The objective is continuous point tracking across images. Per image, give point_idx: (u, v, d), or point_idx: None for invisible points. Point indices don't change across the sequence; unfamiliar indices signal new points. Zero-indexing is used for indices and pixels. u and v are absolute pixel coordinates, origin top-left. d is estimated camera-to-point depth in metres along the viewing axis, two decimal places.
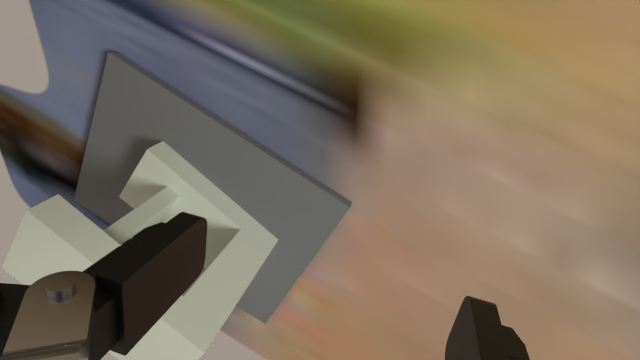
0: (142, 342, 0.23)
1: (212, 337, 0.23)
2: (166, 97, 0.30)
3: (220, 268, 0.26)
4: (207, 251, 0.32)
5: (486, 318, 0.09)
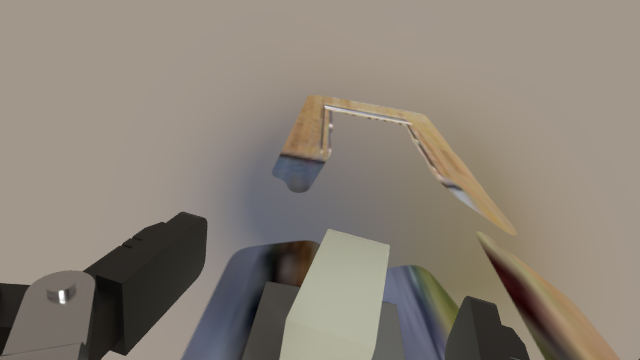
0: (340, 302, 0.27)
1: (371, 357, 0.25)
2: (396, 339, 0.41)
3: None
4: None
5: (486, 318, 0.09)
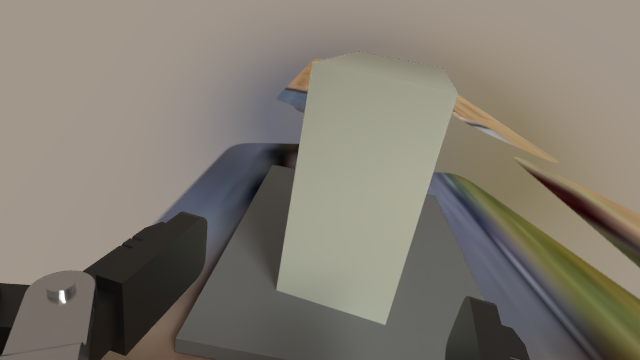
0: (390, 71, 0.18)
1: (449, 119, 0.15)
2: (441, 222, 0.32)
3: None
4: None
5: (486, 318, 0.09)
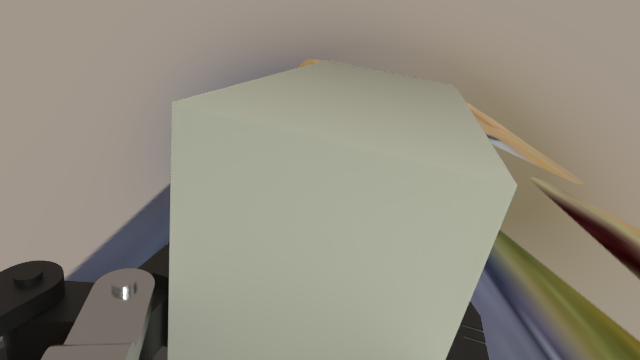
0: (362, 109, 0.09)
1: (492, 241, 0.06)
2: None
3: None
4: None
5: None
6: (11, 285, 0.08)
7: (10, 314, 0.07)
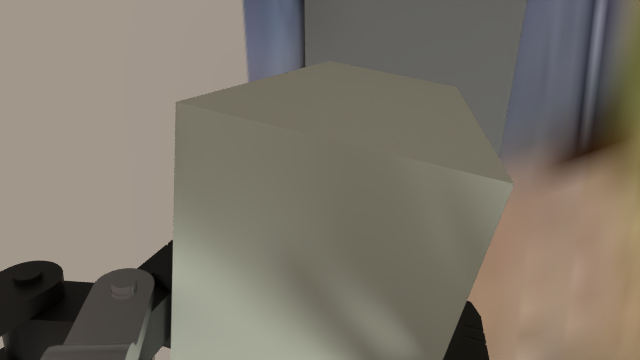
0: (362, 109, 0.09)
1: (489, 239, 0.07)
2: None
3: None
4: None
5: None
6: (11, 285, 0.08)
7: (10, 314, 0.07)
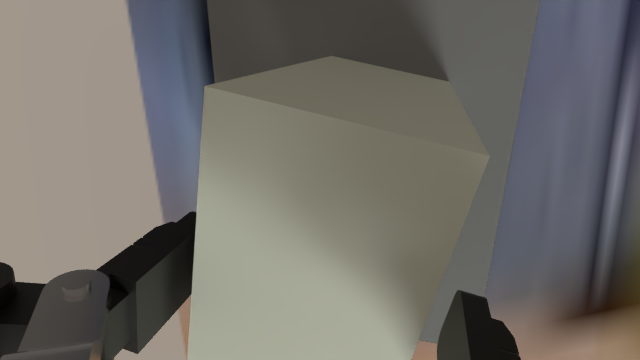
0: (363, 97, 0.10)
1: (470, 204, 0.08)
2: (512, 73, 0.18)
3: None
4: None
5: (476, 311, 0.10)
6: None
7: None
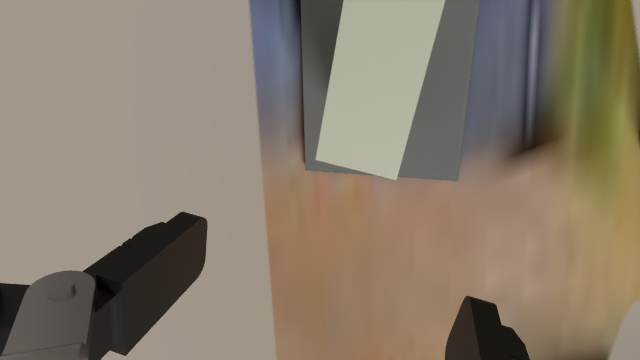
0: None
1: (441, 14, 0.23)
2: (472, 1, 0.33)
3: None
4: None
5: (486, 318, 0.09)
6: None
7: None
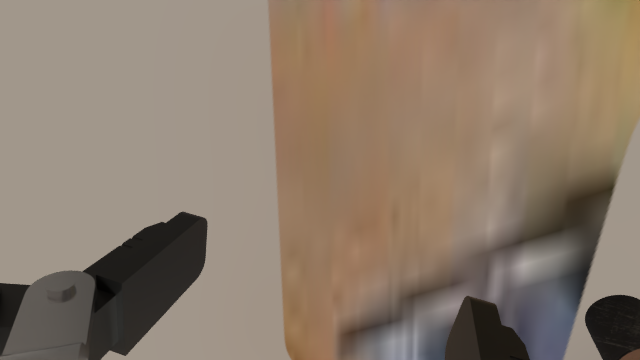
0: None
1: None
2: None
3: None
4: None
5: (486, 318, 0.09)
6: None
7: None
